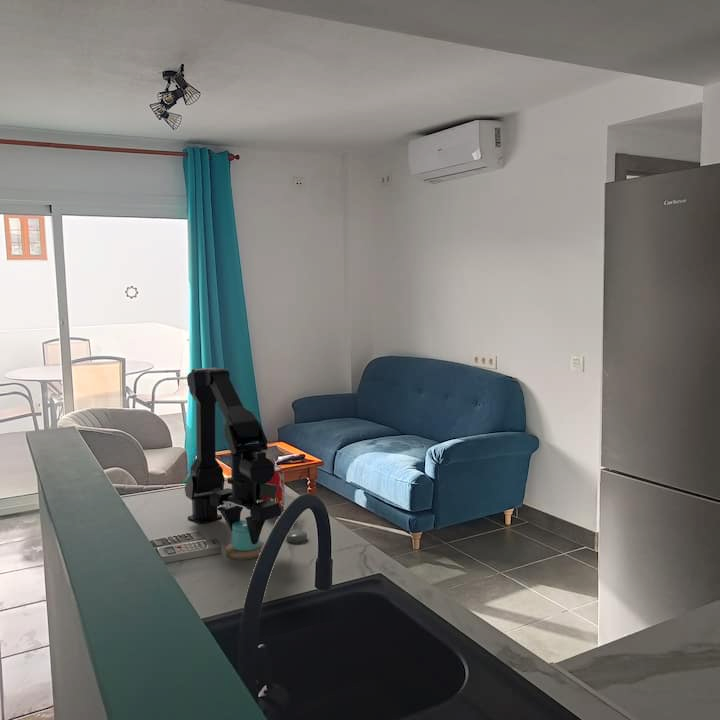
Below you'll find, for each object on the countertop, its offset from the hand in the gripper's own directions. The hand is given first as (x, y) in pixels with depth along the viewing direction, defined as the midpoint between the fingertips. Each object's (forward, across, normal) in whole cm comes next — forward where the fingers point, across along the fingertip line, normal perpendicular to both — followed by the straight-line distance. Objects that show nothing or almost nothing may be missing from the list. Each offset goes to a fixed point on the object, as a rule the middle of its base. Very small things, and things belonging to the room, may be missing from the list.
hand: (245, 540), depth 163 cm
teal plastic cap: (+1, 0, 0) cm, 1 cm away
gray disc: (+3, -3, -13) cm, 14 cm away
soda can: (+3, +17, -23) cm, 29 cm away
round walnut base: (+3, 0, 0) cm, 3 cm away
